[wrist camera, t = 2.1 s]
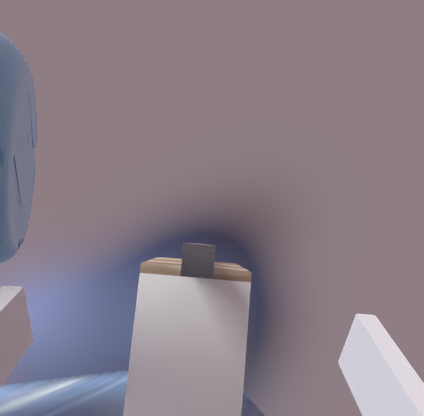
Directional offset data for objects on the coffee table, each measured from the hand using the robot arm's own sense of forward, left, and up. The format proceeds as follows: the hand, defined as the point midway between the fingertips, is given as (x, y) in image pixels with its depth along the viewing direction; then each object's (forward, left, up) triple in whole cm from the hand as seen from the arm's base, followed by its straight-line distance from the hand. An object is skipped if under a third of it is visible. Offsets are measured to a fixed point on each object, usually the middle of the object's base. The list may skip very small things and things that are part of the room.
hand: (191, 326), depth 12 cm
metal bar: (-14, +24, 0) cm, 28 cm away
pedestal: (-16, +29, -30) cm, 44 cm away
